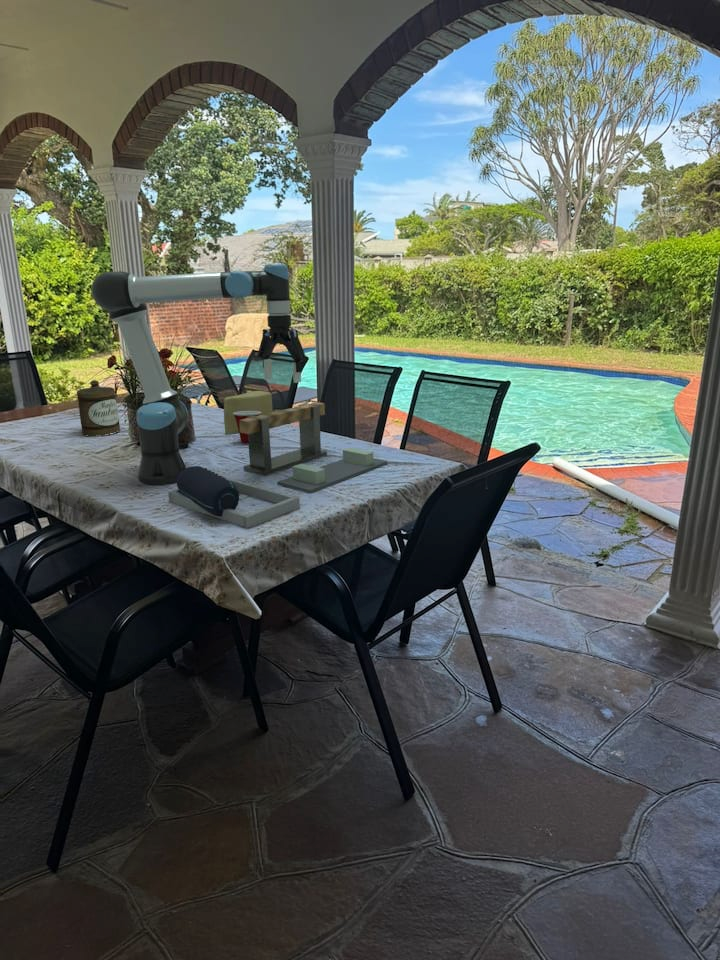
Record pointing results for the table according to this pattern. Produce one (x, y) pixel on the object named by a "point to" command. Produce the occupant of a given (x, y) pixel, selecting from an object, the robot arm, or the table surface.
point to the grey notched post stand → (307, 452)
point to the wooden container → (98, 410)
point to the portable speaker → (208, 489)
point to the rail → (280, 417)
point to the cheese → (245, 407)
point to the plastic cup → (244, 415)
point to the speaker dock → (246, 520)
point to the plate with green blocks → (331, 471)
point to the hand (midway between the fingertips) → (282, 380)
